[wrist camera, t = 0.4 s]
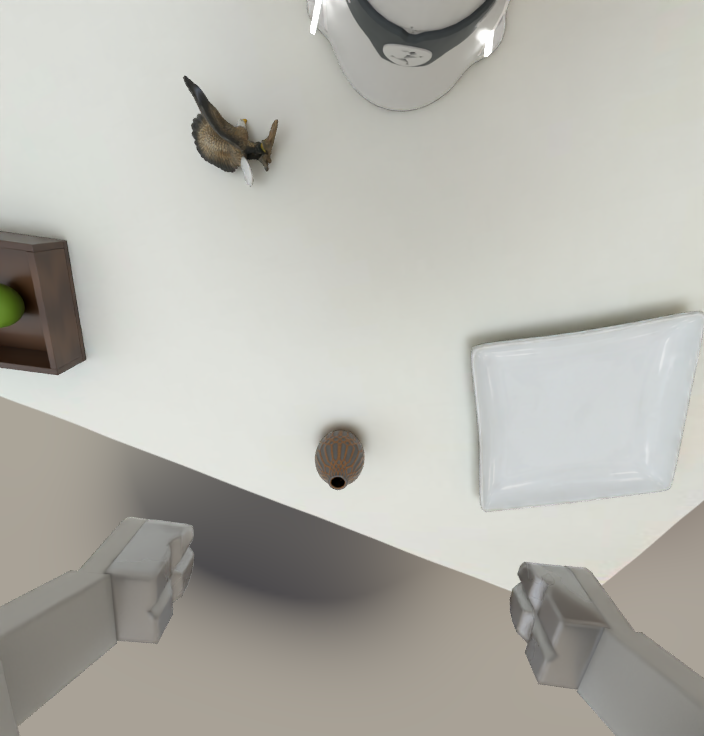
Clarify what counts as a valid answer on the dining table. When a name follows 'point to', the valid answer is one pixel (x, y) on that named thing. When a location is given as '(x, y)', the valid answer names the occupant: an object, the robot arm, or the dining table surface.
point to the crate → (40, 306)
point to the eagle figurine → (226, 138)
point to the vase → (339, 459)
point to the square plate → (584, 411)
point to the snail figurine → (10, 306)
